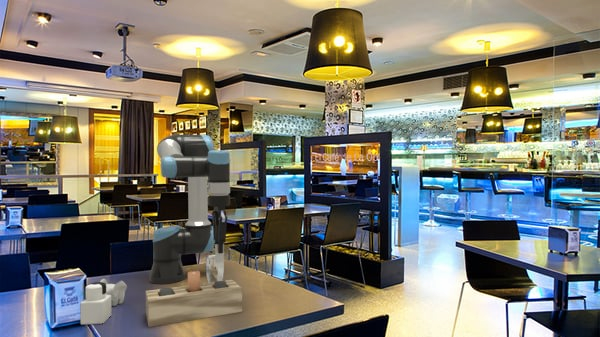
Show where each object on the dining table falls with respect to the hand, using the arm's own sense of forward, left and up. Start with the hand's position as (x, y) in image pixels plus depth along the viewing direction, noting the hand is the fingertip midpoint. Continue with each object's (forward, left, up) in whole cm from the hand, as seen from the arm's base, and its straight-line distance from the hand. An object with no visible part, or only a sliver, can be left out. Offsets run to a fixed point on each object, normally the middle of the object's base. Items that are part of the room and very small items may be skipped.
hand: (219, 261), depth 142 cm
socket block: (0, -9, -16) cm, 19 cm away
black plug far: (0, 0, -15) cm, 15 cm away
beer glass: (-17, +2, -17) cm, 24 cm away
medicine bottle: (-8, -39, -17) cm, 43 cm away
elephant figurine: (-23, -35, -17) cm, 45 cm away
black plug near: (0, -18, -15) cm, 23 cm away
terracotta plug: (0, -9, -10) cm, 14 cm away
